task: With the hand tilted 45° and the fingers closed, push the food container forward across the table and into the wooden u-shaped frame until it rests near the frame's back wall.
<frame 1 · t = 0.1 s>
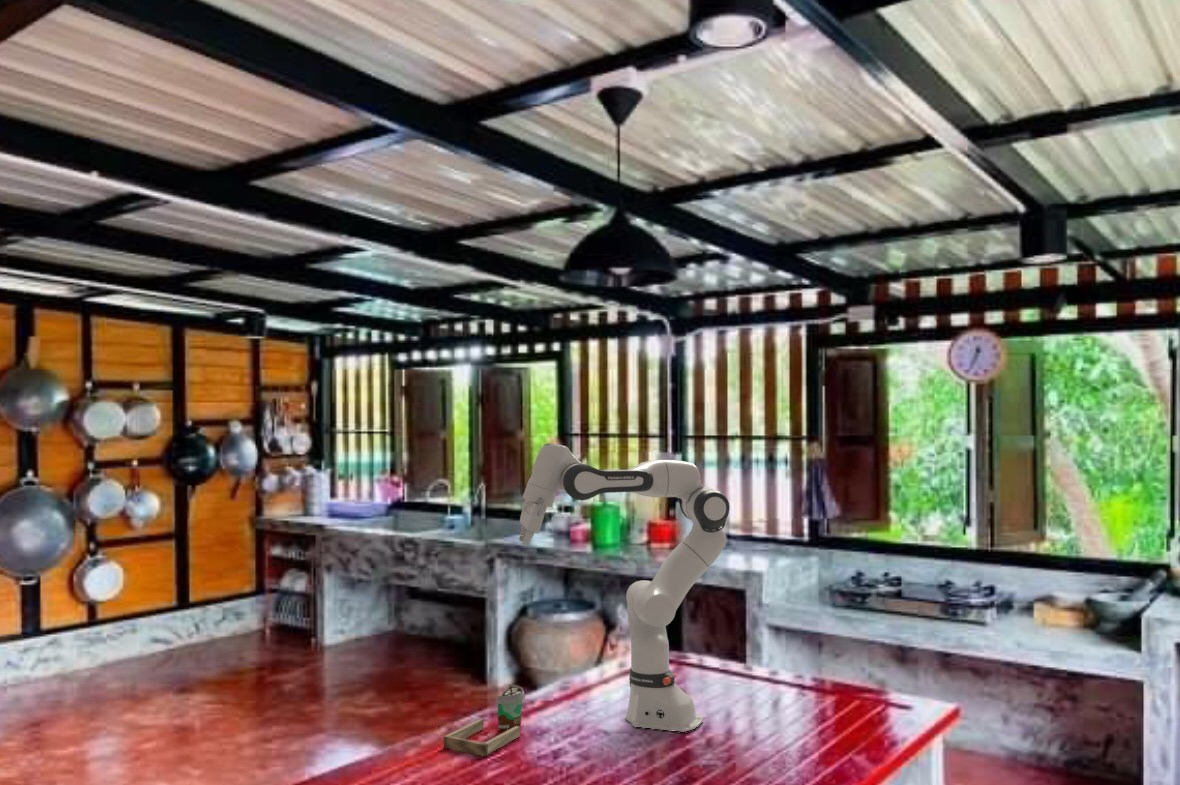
hand: (523, 543, 259), 52 cm above the table, tool tilted 20°, fingers open, 8 cm apart
food container: (513, 726, 258), on the table
wooden u-shaped frame: (483, 741, 246), on the table
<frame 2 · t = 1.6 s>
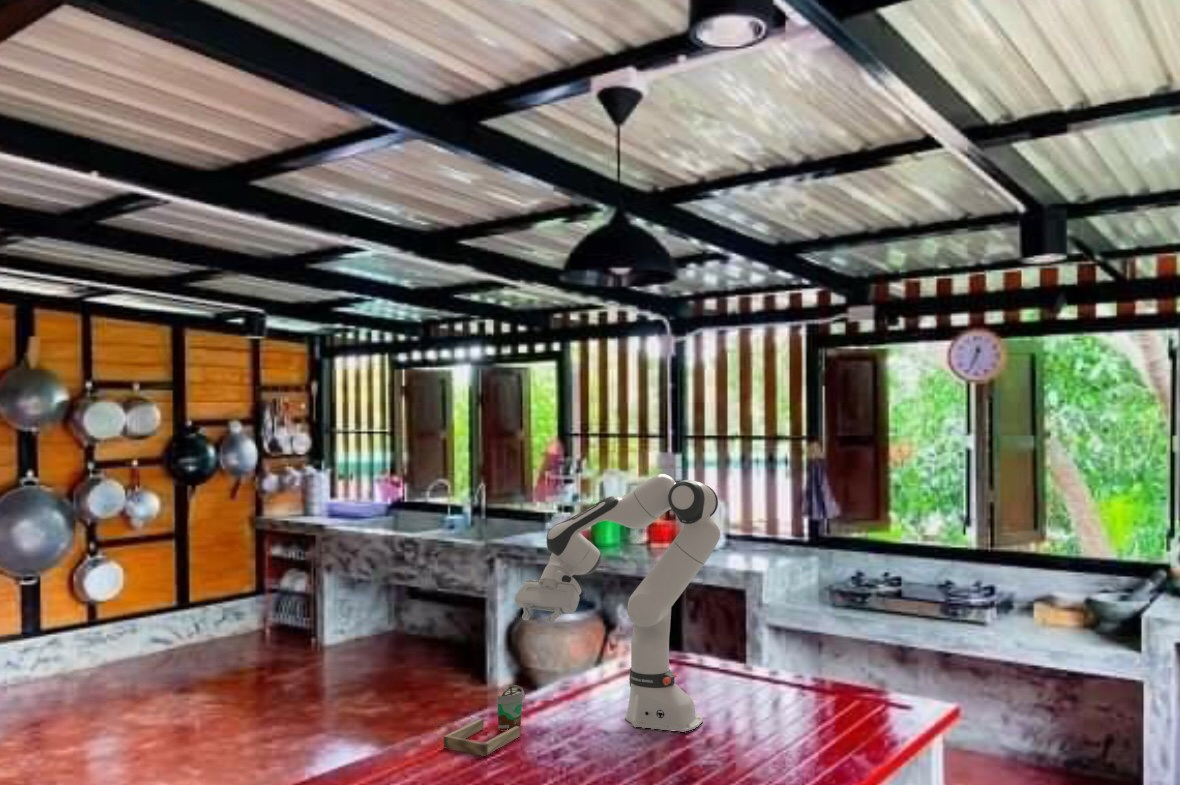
hand: (537, 620, 270), 27 cm above the table, tool tilted 45°, fingers open, 7 cm apart
nothing on the table moved.
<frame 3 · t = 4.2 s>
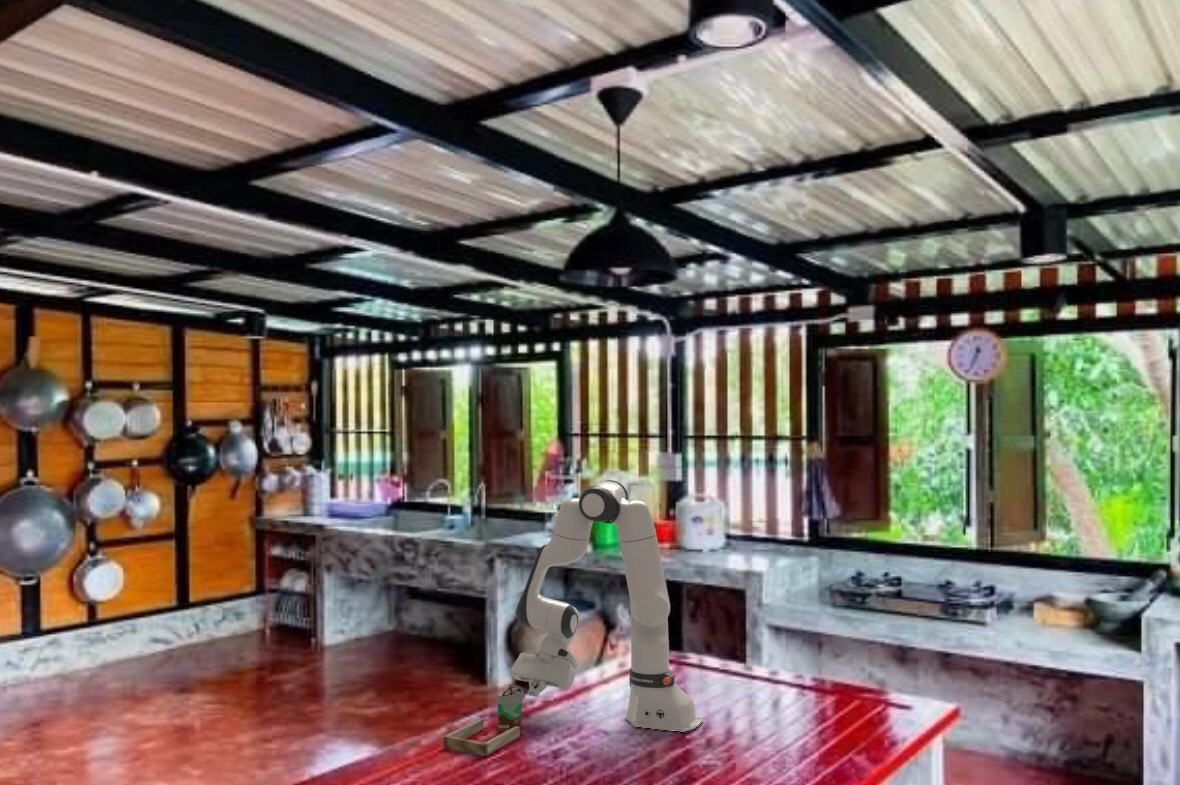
hand: (532, 695, 268), 6 cm above the table, tool tilted 45°, fingers closed
nothing on the table moved.
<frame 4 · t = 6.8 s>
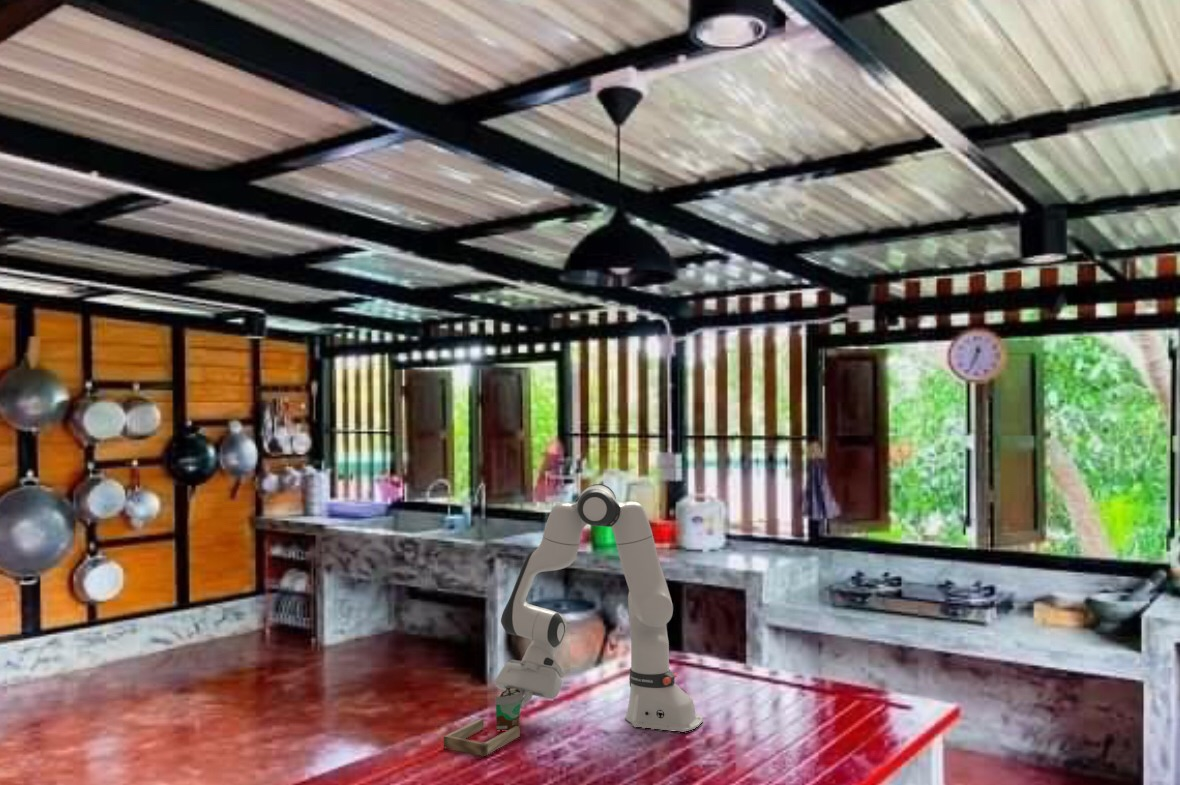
hand: (517, 706, 261), 5 cm above the table, tool tilted 45°, fingers closed
food container: (511, 727, 258), on the table, touching gripper
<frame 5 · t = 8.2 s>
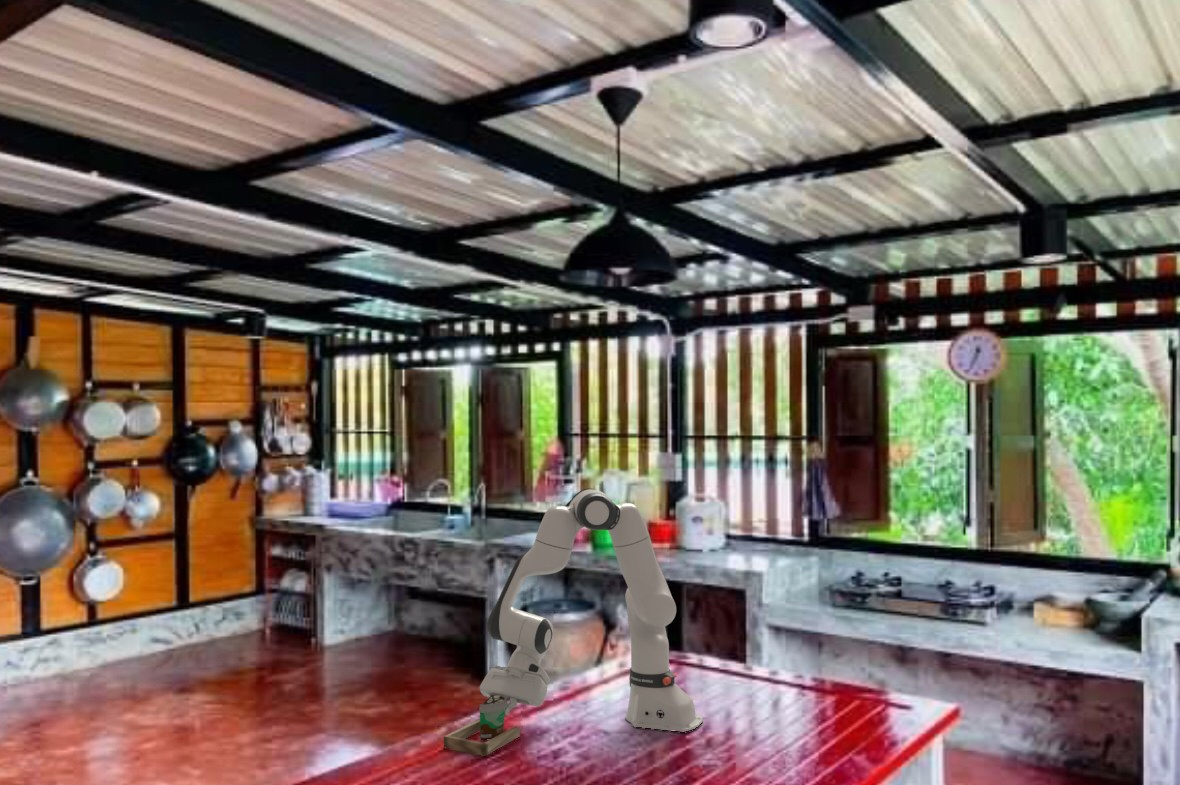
hand: (501, 713, 254), 5 cm above the table, tool tilted 45°, fingers closed
food container: (496, 735, 251), on the table, touching gripper
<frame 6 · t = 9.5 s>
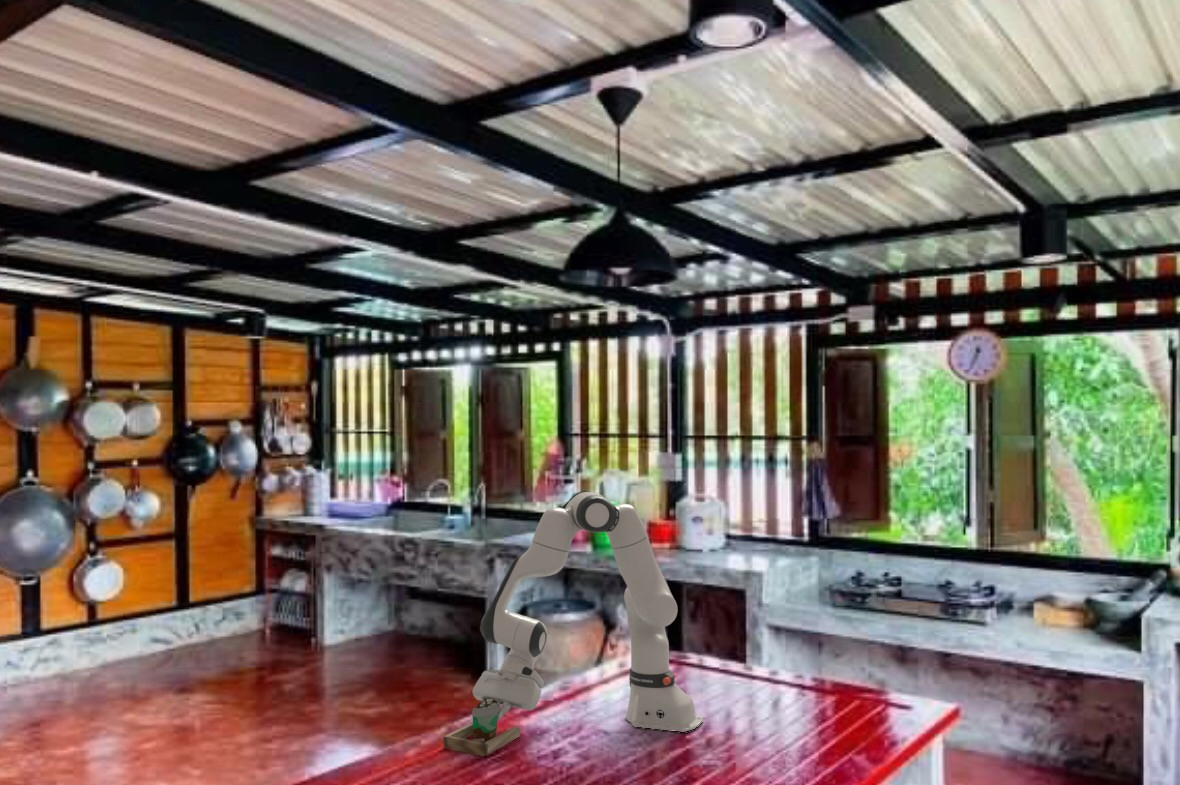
hand: (494, 717, 251), 5 cm above the table, tool tilted 45°, fingers closed
food container: (488, 740, 248), on the table, touching gripper
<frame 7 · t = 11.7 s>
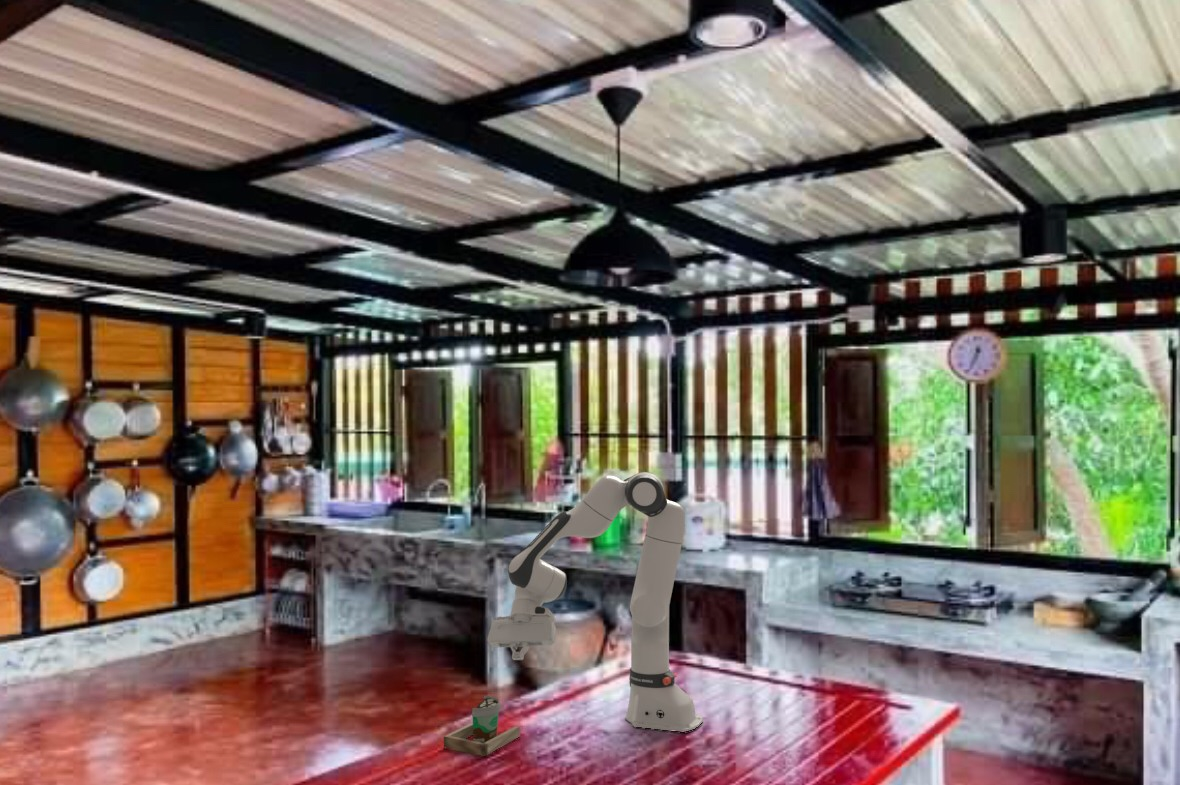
hand: (517, 659, 259), 19 cm above the table, tool tilted 40°, fingers closed
food container: (489, 740, 248), on the table
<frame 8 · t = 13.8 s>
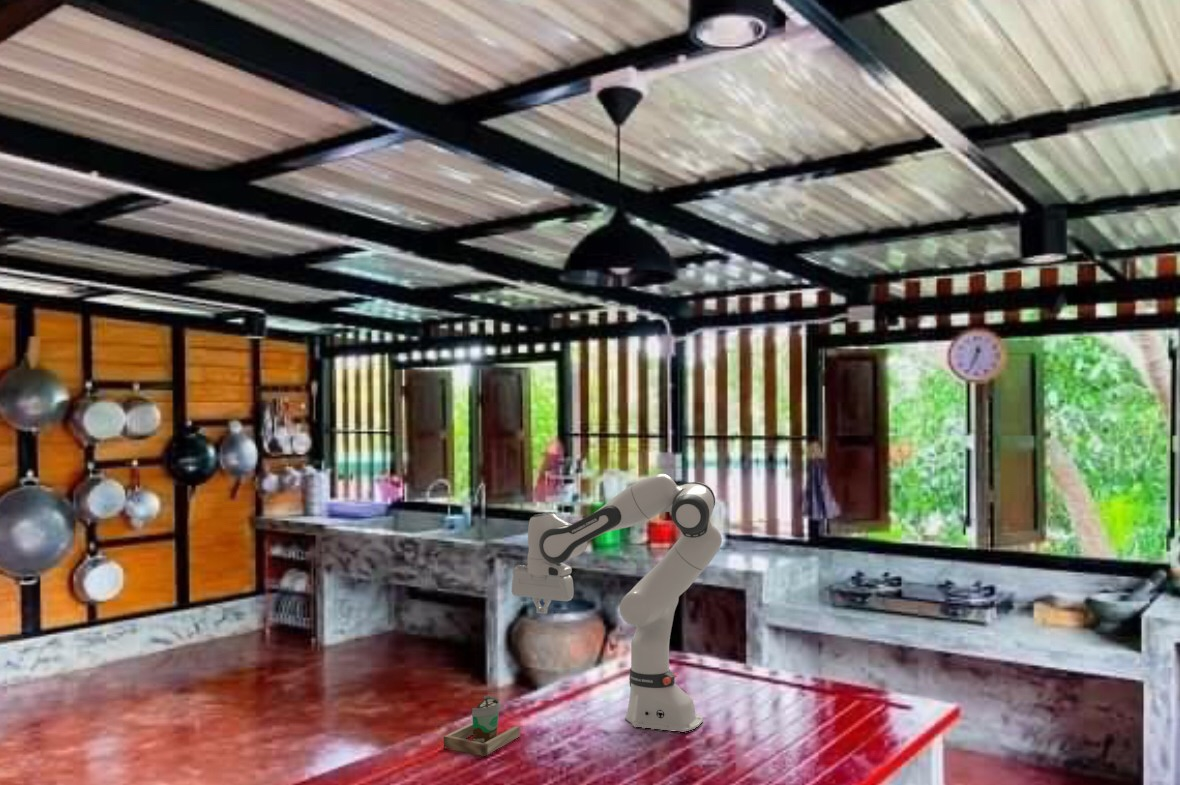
hand: (541, 613, 272), 29 cm above the table, tool pointing down, fingers closed
nothing on the table moved.
at the end: food container 2.5 cm off-centre on the wooden u-shaped frame, point 0.0 cm above the wooden u-shaped frame's base; food container tilted 0°; food container moved 12.0 cm from its start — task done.
